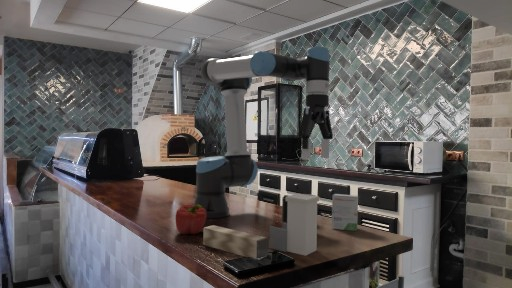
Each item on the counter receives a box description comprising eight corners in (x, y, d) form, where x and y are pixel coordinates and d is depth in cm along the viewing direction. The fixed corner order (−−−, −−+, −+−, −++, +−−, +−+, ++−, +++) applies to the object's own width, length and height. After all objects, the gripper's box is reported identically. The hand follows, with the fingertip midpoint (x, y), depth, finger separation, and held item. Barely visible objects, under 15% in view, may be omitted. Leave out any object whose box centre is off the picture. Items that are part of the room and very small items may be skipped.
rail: (203, 244, 106) (203, 227, 106) (213, 241, 109) (213, 225, 109) (258, 260, 93) (259, 241, 93) (268, 256, 96) (268, 237, 96)
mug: (297, 226, 129) (298, 201, 129) (277, 220, 139) (277, 196, 139) (317, 223, 134) (317, 199, 134) (295, 217, 144) (296, 194, 144)
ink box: (331, 229, 127) (332, 195, 126) (333, 225, 131) (333, 193, 131) (356, 231, 124) (357, 196, 124) (357, 227, 129) (358, 194, 128)
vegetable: (214, 233, 118) (214, 203, 118) (188, 239, 111) (188, 207, 111) (194, 227, 126) (195, 199, 126) (168, 233, 118) (168, 202, 118)
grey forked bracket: (269, 247, 104) (270, 194, 103) (284, 242, 110) (284, 192, 109) (305, 256, 96) (306, 199, 96) (319, 250, 102) (319, 196, 102)
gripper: (309, 89, 108) (308, 160, 108) (343, 97, 128) (341, 157, 128) (287, 91, 112) (286, 159, 113) (323, 98, 132) (322, 156, 133)
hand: (316, 158), depth 121 cm, fingers open, 13 cm apart
